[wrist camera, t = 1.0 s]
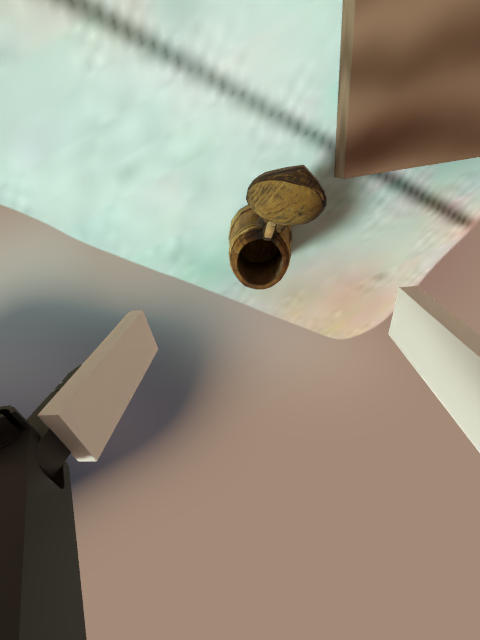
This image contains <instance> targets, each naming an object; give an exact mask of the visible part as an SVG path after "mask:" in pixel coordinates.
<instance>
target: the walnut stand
mask: <svg viewBox="0 0 480 640" xmlns="http://www.w3.org/2000/svg"><path fill="white" fill-rule="evenodd" d="M476 157H480V0H343V11H342V31H341V51H340V71H339V91H338V111H337V131H336V151H335V171H334V177H337V178H343V179H344V178H350V177H357V176H363V175H369V174H375V173H382V172H388V171H394V170H400V169H407V168H413V167H419V166H425V165H432V164H438V163H444V162H451V161H457V160H463V159H469V158H476Z"/></svg>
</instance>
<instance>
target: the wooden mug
mask: <svg viewBox="0 0 480 640" xmlns="http://www.w3.org/2000/svg"><path fill="white" fill-rule="evenodd" d="M326 199H327V198H326V195H325V193H324V190H323V189H322V187H321V186H320V184H319V182H318V180H317V179H316V178H315V177H314V176H313V175H312V173H311V172H310V171H309V170H308V169H307V168H306V167H305V166H304V165H299V166H292V167H285V168H281V169H277V170H272V171H268V172H265V173H263V174H261V175H259V176H258V177H257V178H256V179H254V180H253V181H252V183H251V184H250V186H249V187H248V191H247V196H246V200H247V202H248V205H247V206H245V207H244V208H242V209H240V210H239V211H238V212H237V214H236V215H235V217H234V218H233V219H232V221H231V227H230V233H229V245H230V247H229V258H230V266H231V268H232V271H233V272H234V274H235V275H236V277H237V278H238V279H239V281H240V282H241V283H242V284H243V285H245V286H246V287H249V288H253V289H266V288H270V287H272V286H273V285H275V284H276V283H277V282H279V281H280V280H281V279H282V277H283V276H284V274H285V272H286V271H287V268H288V266H289V262H290V257H291V247H290V246H291V241H292V233H291V225H299V224H304V223H308V222H310V221H312V220H314V219H315V218H316V217H318V216H319V215H320V214H321V212H322V211H323V210H324V208H325V207H326Z"/></svg>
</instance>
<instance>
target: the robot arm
mask: <svg viewBox="0 0 480 640" xmlns="http://www.w3.org/2000/svg"><path fill="white" fill-rule="evenodd" d="M389 335H390V337H391V338H392V339H393V341H394V342H395V343H396V345H397V346H398V347H399V348H400V350H401V351H402V352H403V353H404V355H405V356H406V358H407V359H408V360H409V361H410V363H411V364H412V365H413V367H414V368H415V369H416V371H417V372H418V373H419V374H420V376H421V377H422V378H423V380H424V381H425V382H426V384H427V385H428V386H429V387H430V389H431V390H432V391H433V393H434V394H435V395H436V396H437V398H438V399H439V400H440V402H441V403H442V404H443V406H444V407H445V408H446V410H447V411H448V412H449V413H450V415H451V416H452V417H453V419H454V420H455V421H456V423H457V424H458V425H459V427H461V429H462V430H463V432H464V433H465V434H466V436H467V437H468V438H469V440H470V441H471V442H472V443H473V445H474V446H475V447H476V449H477V450H478V451H479V452H480V334H479V333H477V332H476V331H475V330H473V329H472V328H471V327H469V326H468V325H467V324H466V323H464V322H463V321H462V320H460V319H459V318H458V317H456V316H455V315H454V314H452V313H451V312H450V311H449V310H447V309H446V308H445V307H443V306H442V305H441V304H439V303H438V302H437V301H435V300H434V299H433V298H432V297H430V296H429V295H428V294H426V293H425V292H424V291H422V290H421V289H420V288H418V287H417V286H411V287H400V288H399V291H398V295H397V300H396V304H395V308H394V312H393V317H392V321H391V326H390V330H389ZM157 350H158V348H157V345H156V343H155V340H154V337H153V335H152V332H151V330H150V327H149V325H148V323H147V320H146V317H145V315H144V312H143V310H138V311H130V312H129V313H128V314H127V315H126V316H125V317H124V318H123V319H122V320H121V322H120V323H119V324H118V325H117V326H116V327H115V328H114V329H113V331H112V332H111V333H110V334H109V335H108V336H107V337H106V338H105V340H104V341H103V342H102V343H101V344H100V345H99V347H97V349H96V350H95V351H94V352H93V353H92V354H91V355H90V356H89V358H88V359H87V360H86V361H85V362H84V363H83V364H82V365H80V366H78V367H77V368H75V369H74V370H73V371H71V372H70V373H69V374H68V375H67V376H66V377H65V378H64V379H63V381H62V382H61V384H59V385H58V386H57V387H56V388H55V389H54V392H52V393H51V394H50V395H49V396H48V397H47V398H46V399H45V400H44V401H43V402H42V403H41V405H40V406H39V407H38V408H37V409H36V410H35V411H34V412H33V413H32V415H31V416H30V417H29V418H28V419H27V420H26V419H25V418H24V417H23V416H22V415H21V414H20V413H19V412H18V411H17V410H16V409H15V408H14V407H12V406H2V407H0V640H86V631H85V620H84V611H83V601H82V591H81V581H80V571H79V561H78V551H77V541H76V532H75V521H74V512H73V501H72V492H71V481H70V472H69V466H68V464H67V462H66V461H65V460H66V459H67V457H68V456H69V454H70V453H72V455H73V456H74V457H75V458H76V459H77V460H78V461H97V460H98V458H99V456H100V455H101V453H102V451H103V449H104V447H105V445H106V443H107V442H108V440H109V438H110V436H111V434H112V433H113V431H114V429H115V427H116V425H117V423H118V422H119V420H120V418H121V416H122V414H123V412H124V411H125V409H126V407H127V405H128V403H129V402H130V399H131V398H132V396H133V394H134V392H135V391H136V389H137V387H138V385H139V383H140V382H141V380H142V378H143V376H144V374H145V372H146V371H147V369H148V367H149V365H150V363H151V361H152V360H153V358H154V356H155V354H156V352H157Z"/></svg>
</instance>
